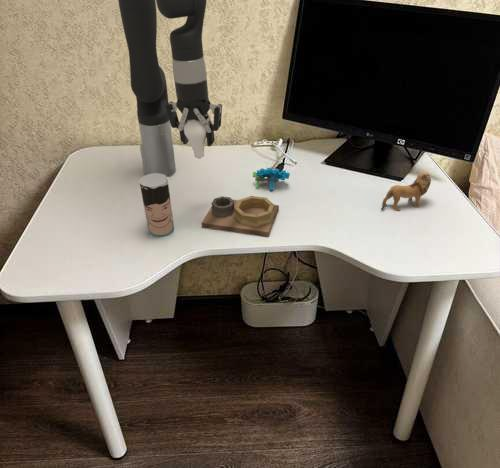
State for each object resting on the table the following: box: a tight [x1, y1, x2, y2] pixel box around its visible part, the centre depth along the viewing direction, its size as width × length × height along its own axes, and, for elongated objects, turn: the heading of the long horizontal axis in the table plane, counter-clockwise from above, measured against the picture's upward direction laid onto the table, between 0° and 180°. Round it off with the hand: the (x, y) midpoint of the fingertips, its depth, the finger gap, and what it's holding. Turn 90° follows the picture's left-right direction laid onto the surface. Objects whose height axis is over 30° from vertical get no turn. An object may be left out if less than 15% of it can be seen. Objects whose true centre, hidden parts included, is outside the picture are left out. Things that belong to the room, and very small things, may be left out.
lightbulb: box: [184, 120, 207, 160], centre depth 116 cm, size 6×6×11 cm
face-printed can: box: [139, 173, 175, 239], centre depth 116 cm, size 7×7×15 cm
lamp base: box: [201, 195, 280, 238], centre depth 123 cm, size 18×13×4 cm
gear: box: [252, 167, 290, 192], centre depth 136 cm, size 11×6×10 cm
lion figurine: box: [380, 171, 432, 212], centre depth 126 cm, size 15×5×9 cm, turn 113°
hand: (198, 143), depth 116 cm, fingers closed on lightbulb, 6 cm apart
